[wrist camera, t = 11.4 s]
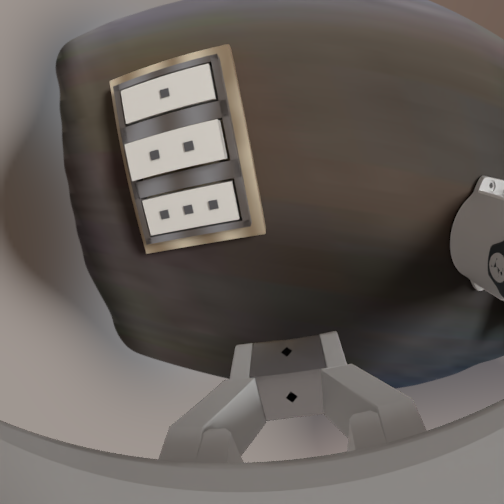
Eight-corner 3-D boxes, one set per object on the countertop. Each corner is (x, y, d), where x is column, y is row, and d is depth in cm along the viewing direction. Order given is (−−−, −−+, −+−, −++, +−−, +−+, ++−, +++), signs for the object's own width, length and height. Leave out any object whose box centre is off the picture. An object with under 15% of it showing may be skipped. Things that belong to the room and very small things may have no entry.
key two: (220, 120, 31) (216, 118, 29) (227, 158, 33) (224, 159, 31) (131, 144, 33) (123, 144, 31) (138, 179, 34) (131, 181, 32)
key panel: (231, 50, 32) (226, 38, 28) (266, 228, 40) (265, 238, 35) (118, 84, 34) (102, 78, 30) (152, 247, 42) (140, 259, 37)
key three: (233, 179, 35) (231, 181, 33) (240, 215, 36) (238, 219, 34) (148, 197, 36) (141, 201, 34) (156, 231, 38) (150, 236, 36)
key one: (211, 67, 31) (208, 62, 29) (218, 101, 32) (214, 98, 30) (127, 93, 32) (119, 90, 30) (133, 124, 33) (125, 124, 31)
